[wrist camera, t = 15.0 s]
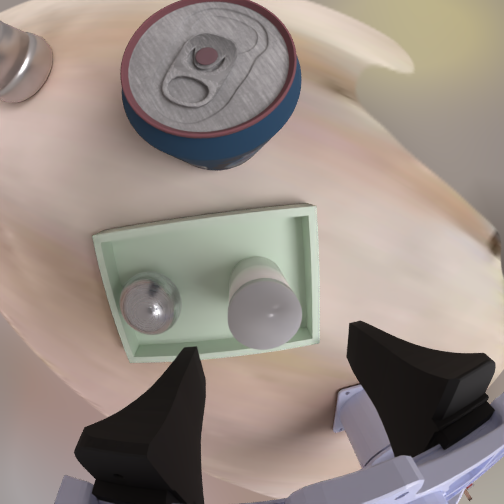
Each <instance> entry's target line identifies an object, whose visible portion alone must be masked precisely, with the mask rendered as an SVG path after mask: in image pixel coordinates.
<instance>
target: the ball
mask: <svg viewBox="0 0 504 504" xmlns="http://www.w3.org/2000/svg"><path fill="white" fill-rule="evenodd" d="M181 308H182V301H181V296H180V293H179V290H178V288H177V287H176V285H175V284H174V283H173V281H172V280H171V279H169V278H168V277H167V276H165V275H163V274H161V273H158V272H152V271H147V272H141V273H138V274H136V275H134V276H133V277H131V278H130V279H129V280H128V281H127V282H126V284H125V285H124V287H123V289H122V291H121V295H120V310H121V313H122V316H123V318H124V319H125V321H126V322H127V324H128V325H129V326H130V327H131V328H133V329H134V330H136V331H137V332H139V333H142V334H146V335H157V334H161V333H164V332H166V331H167V330H169V329H170V328H172V327H173V326H174V324H175V323H176V322H177V320H178V318H179V316H180V313H181Z"/></svg>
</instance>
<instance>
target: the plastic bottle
mask: <svg viewBox="0 0 504 504" xmlns="http://www.w3.org/2000/svg"><path fill="white" fill-rule="evenodd" d="M52 62H53V54H52V49H51V47H50V45H49V44H48V43H47V42H46V40H45V39H44V38H42V37H41V36H38V35H35V34H33V33H28V32H24V31H22V30H19V29H17V28H15V27H13V26H10V25H8V24H5V23H3V22H2V21H0V99H1V100H3V101H5V102H22V101H24V100H26V99H28V98H29V97H31V96H32V95H34V94H35V93H36V92H37V91H38V90H39V89H40V88H41V87H42V85H43V84H44V82H45V81H46V79H47V77H48V75H49V73H50V70H51V67H52Z"/></svg>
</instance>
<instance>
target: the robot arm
mask: <svg viewBox="0 0 504 504" xmlns="http://www.w3.org/2000/svg"><path fill="white" fill-rule="evenodd" d="M347 359H348V361H349V364H350V366H351V368H352V370H353V373H354V374H355V376H356V377H357V379H358V381H359V382H360V385H357V386H353V387H349V388H346V389H342V390H340V391H339V392H338V397H337V405H336V412H335V418H334V425H333V432H335V433H336V432H340V431H343V430H345V432H346V434H347V436H348V438H349V441H350V443H351V445H352V447H353V449H354V452H355V454H356V456H357V458H358V461H359V463H360V465H361V467H362V469H360V470H359V471H356V472H353V473H350V474H347V475H343V476H340V477H337V478H333V479H329V480H325V481H321V482H318V483H315V484H312V485H309V486H305V487H303V488H301V489H299V490H297V491H295V492H293V493H292V494H291V495H290V496H289V497H288V498H284V499H277V500H270V501H263V502H253V503H241V504H458V502H459V500H460V498H461V496H462V494H463V492H464V490H465V488H466V487H468V486H469V485H470V484H471V483H473V482H474V481H475V480H477V479H478V478H479V477H480V476H481V475H483V474H484V473H485V472H486V471H487V470H488V469H490V468H491V467H492V466H493V465H494V464H495V463H496V462H498V461H499V460H500V459H501V458H502V457H503V456H504V392H503V393H502V394H501V395H499V396H498V397H497V398H495V399H494V400H493V402H492V403H491V404H489V403H488V402H487V400H488V398H489V397H488V395H487V394H486V393H485V392H486V390H487V388H488V386H489V384H490V382H491V379H492V377H493V375H494V372H495V362H494V361H493V360H492V359H491V358H489V357H488V356H487V355H486V354H485V353H452V352H444V351H439V350H433V349H429V348H425V347H422V346H418V345H415V344H412V343H409V342H407V341H404V340H402V339H399V338H397V337H395V336H392V335H390V334H388V333H386V332H384V331H382V330H380V329H378V328H376V327H374V326H372V325H369V324H367V323H365V322H363V321H357V322H353V323H349V335H348V347H347ZM205 398H206V380H205V376H204V372H203V368H202V364H201V361H200V357H199V353H198V349H197V346H194V347H184V348H183V349H182V350H181V352H180V353H179V354H178V356H177V357H176V358H175V360H174V361H173V362H172V364H171V365H170V366H169V367H168V369H167V370H166V371H165V372H164V373H163V375H162V376H161V377H160V378H159V379H158V380H157V381H156V382H155V383H154V385H153V386H152V387H150V388H149V389H148V390H147V391H146V392H145V393H144V394H143V395H141V396H140V397H139V398H138V399H136V400H135V401H134V402H132V403H131V404H129V405H128V406H127V407H125V408H124V409H122V410H120V411H119V412H117V413H115V414H114V415H112V416H110V417H108V418H106V419H104V420H101V421H99V422H97V423H94V424H92V425H89V426H87V427H85V428H84V430H83V432H82V434H81V436H80V439H79V441H78V444H77V446H76V448H75V451H74V453H75V456H76V458H77V459H78V461H79V462H80V464H82V466H83V467H84V468H85V469H86V470H87V471H88V472H89V473H90V474H91V475H92V476H93V477H94V478H95V479H96V480H95V484H94V485H93V484H91V483H89V482H87V481H84V480H81V479H77V478H74V477H71V476H68V475H65V476H64V477H63V480H62V483H61V486H60V488H59V491H58V494H57V497H56V500H55V503H54V504H204V497H203V486H202V474H201V473H202V472H201V431H202V423H203V415H204V407H205Z"/></svg>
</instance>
